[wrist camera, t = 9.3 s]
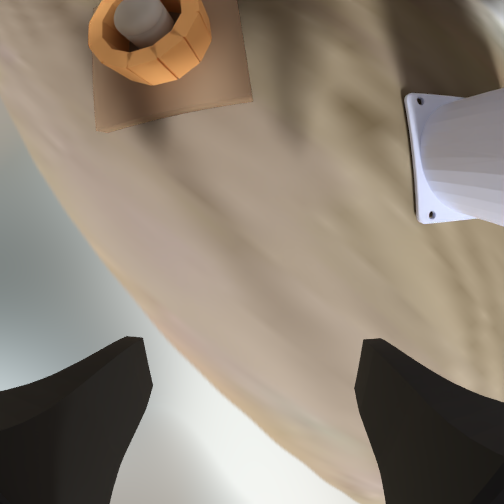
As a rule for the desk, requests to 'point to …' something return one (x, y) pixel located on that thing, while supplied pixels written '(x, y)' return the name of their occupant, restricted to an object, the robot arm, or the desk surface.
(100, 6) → the ring
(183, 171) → the desk surface
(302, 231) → the desk surface
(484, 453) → the robot arm
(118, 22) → the post stand
